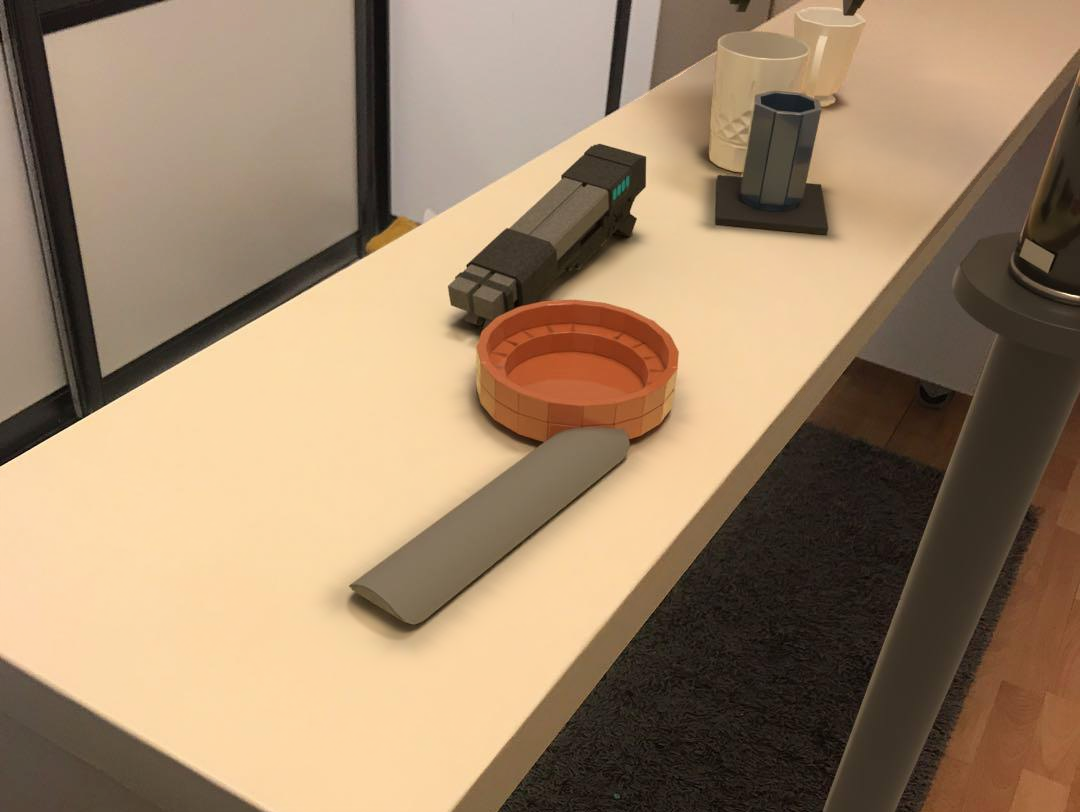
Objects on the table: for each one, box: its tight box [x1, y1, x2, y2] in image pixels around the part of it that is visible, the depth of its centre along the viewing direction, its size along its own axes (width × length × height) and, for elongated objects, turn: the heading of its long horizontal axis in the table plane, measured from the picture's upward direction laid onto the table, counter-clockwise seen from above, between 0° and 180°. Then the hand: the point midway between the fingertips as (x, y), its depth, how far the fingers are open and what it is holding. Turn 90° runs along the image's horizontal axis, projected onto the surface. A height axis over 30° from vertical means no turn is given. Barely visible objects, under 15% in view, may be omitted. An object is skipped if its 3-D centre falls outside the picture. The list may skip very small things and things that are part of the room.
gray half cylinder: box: [348, 427, 631, 625], centre depth 57 cm, size 4×20×2 cm, turn 142°
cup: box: [793, 6, 867, 107], centre depth 107 cm, size 7×10×8 cm
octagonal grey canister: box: [740, 91, 822, 212], centre depth 87 cm, size 5×5×8 cm
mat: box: [715, 174, 829, 236], centre depth 90 cm, size 9×9×1 cm
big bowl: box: [475, 299, 680, 443], centre depth 66 cm, size 12×12×4 cm
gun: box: [447, 143, 647, 329], centre depth 78 cm, size 4×20×10 cm, turn 147°
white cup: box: [708, 30, 810, 174], centre depth 94 cm, size 8×8×10 cm
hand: (798, 8), depth 82 cm, fingers open, 8 cm apart
